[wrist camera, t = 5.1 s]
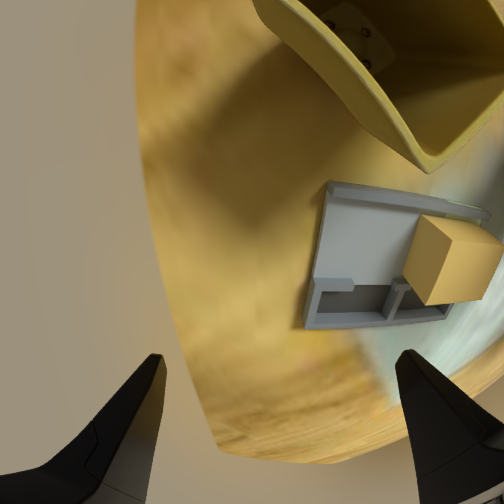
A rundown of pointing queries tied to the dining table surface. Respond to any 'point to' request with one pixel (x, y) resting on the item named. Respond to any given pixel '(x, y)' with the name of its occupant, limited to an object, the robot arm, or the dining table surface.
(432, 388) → the robot arm
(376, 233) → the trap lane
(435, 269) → the ochre block
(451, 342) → the dining table surface
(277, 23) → the flower pot
